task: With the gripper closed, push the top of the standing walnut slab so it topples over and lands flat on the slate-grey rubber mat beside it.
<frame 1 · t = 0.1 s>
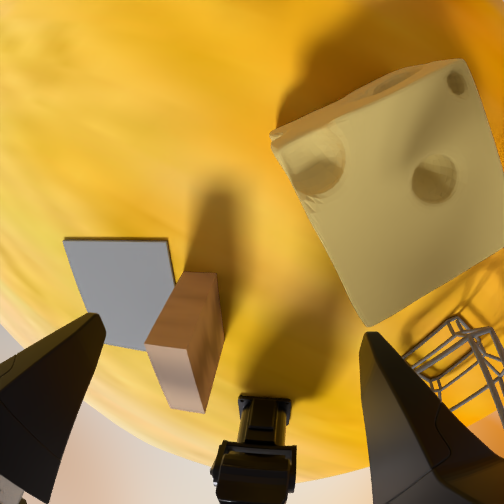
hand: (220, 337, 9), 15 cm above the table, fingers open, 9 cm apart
geometric lantern: (436, 356, 28), on the table
grey mat: (126, 301, 29), on the table
walnut slab: (205, 308, 28), on the table
cheese: (371, 157, 20), on the table
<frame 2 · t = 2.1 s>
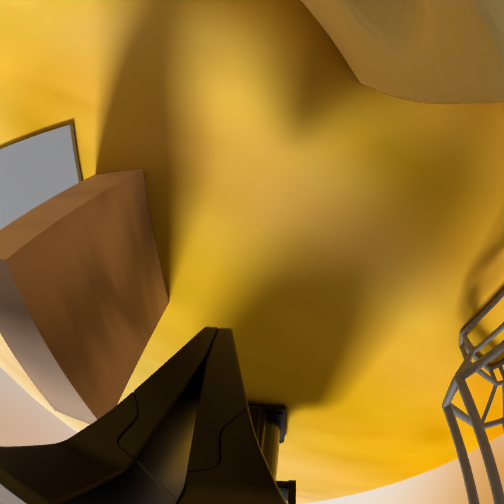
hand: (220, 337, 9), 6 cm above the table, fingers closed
geometric lantern: (503, 329, 16), on the table
grey mat: (34, 242, 17), on the table
walnut slab: (131, 241, 16), on the table
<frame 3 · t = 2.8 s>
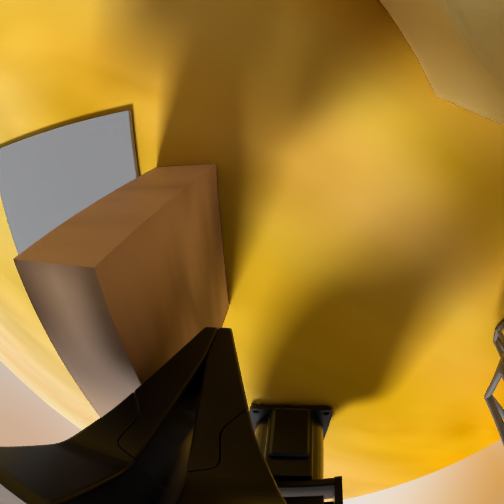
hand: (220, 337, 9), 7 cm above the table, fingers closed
grey mat: (69, 241, 16), on the table
walnut slab: (194, 242, 15), on the table
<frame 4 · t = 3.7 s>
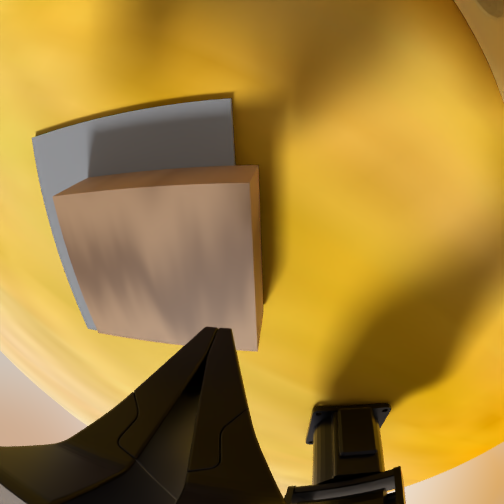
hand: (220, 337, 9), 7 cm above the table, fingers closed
grey mat: (133, 242, 16), on the table
walnut slab: (258, 262, 13), point 2 cm above the table, tilted 90°, touching grey mat
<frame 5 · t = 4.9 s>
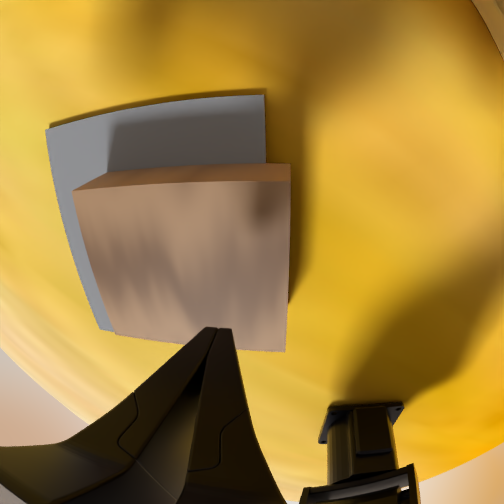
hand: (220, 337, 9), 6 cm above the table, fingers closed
grey mat: (153, 241, 15), on the table
walnut slab: (288, 262, 13), point 2 cm above the table, tilted 90°, touching grey mat
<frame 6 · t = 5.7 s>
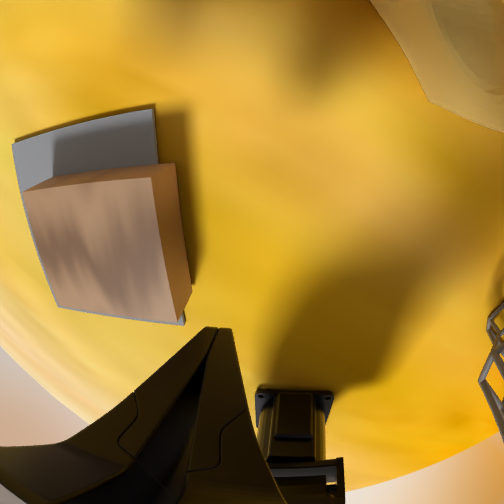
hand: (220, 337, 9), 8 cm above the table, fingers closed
grey mat: (88, 230, 18), on the table
walnut slab: (174, 245, 15), point 2 cm above the table, tilted 90°, touching grey mat
cheese: (449, 5, 9), on the table
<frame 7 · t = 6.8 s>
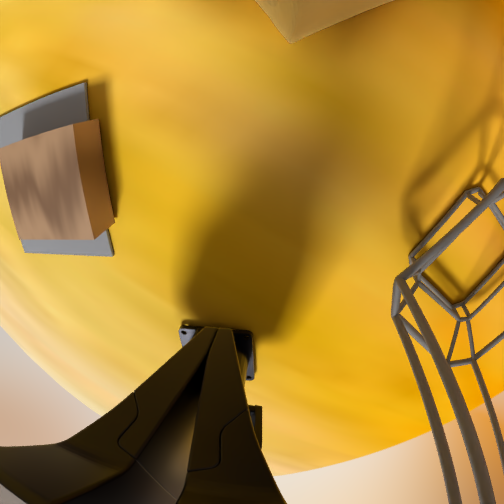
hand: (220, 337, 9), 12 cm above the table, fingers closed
geometric lantern: (458, 262, 20), on the table
grey mat: (45, 180, 20), on the table
walnut slab: (94, 177, 18), point 2 cm above the table, tilted 90°, touching grey mat
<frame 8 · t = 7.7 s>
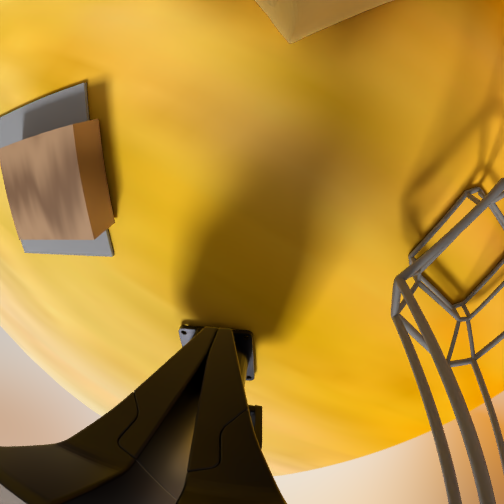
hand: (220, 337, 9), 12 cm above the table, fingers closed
geometric lantern: (458, 262, 20), on the table
grey mat: (45, 180, 20), on the table
walnut slab: (94, 177, 18), point 2 cm above the table, tilted 90°, touching grey mat
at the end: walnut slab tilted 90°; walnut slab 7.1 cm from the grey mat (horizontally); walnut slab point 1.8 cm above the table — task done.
